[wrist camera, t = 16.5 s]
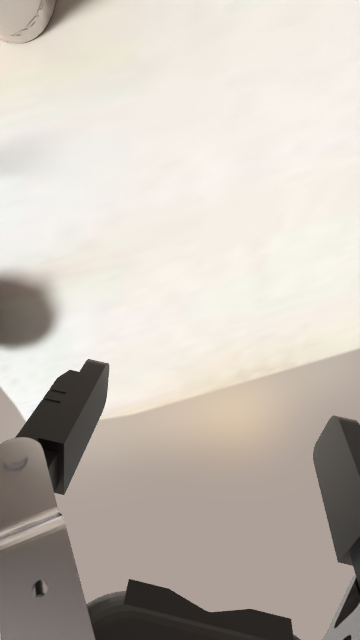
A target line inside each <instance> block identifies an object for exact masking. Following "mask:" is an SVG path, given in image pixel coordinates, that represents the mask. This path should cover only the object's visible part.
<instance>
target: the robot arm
mask: <svg viewBox="0 0 360 640" xmlns="http://www.w3.org/2000/svg"><path fill="white" fill-rule="evenodd" d="M55 2H56V0H0V40H2V41H5V42H7V43H14V44H19V43H26V42H28V41H30V40H32V39H34V38H36V37H37V36H38V35H39V34H40V33H42V31H43V30H44V29H45V27H46V26H47V24H48V23H49V21H50V18H51V16H52V14H53V10H54V6H55ZM108 377H109V364H108V363H104V362H99V361H95V360H91V359H88V360H87V361H86V362H85V364H84V365H83V367H82V369H81V370H80V372H77V371H73V370H69V371H67V372H66V373H64V374H63V375H61V376H60V377H58V378H57V379H56V381H55V382H54V384H53V385H52V386H51V388H50V390H49V391H48V392H47V394H46V395H45V396H44V398H43V400H42V401H41V402H40V404H39V405H38V406H37V408H36V409H35V411H34V412H33V413H32V415H31V416H30V418H29V419H28V421H27V422H26V423H25V425H24V426H23V428H22V430H21V431H20V432H19V433H18V435H17V436H16V437H15V438H13V439H10V440H7V441H5V442H3V443H1V444H0V634H1V640H300V639H299V638H298V637H296V636H294V635H293V631H292V624H291V619H289V618H285V617H281V616H277V615H273V614H269V613H265V612H261V611H257V610H253V609H245V610H234V611H223V612H207V611H205V610H203V609H202V608H200V607H198V606H197V605H195V604H193V603H191V602H190V601H188V600H186V599H185V598H183V597H181V596H180V595H178V594H176V593H175V592H173V591H171V590H170V589H167V588H163V587H159V586H155V585H151V584H147V583H143V582H139V581H135V580H131V579H129V582H128V586H127V590H126V591H122V592H115V593H111V594H107V595H104V596H102V597H99V598H97V599H95V600H93V601H91V602H90V603H88V604H86V602H85V598H84V594H83V590H82V587H81V582H80V578H79V575H78V571H77V567H76V564H75V559H74V556H73V552H72V548H71V544H70V540H69V536H68V532H67V528H66V525H65V521H64V518H63V516H62V514H60V513H59V510H58V507H57V503H56V499H55V495H54V493H58V494H62V495H64V494H65V492H66V490H67V488H68V486H69V483H70V481H71V479H72V477H73V475H74V473H75V470H76V468H77V466H78V464H79V461H80V459H81V457H82V455H83V453H84V451H85V449H86V446H87V444H88V442H89V440H90V438H91V435H92V433H93V431H94V429H95V427H96V425H97V423H98V420H99V418H100V416H101V414H102V412H103V409H104V406H105V402H106V398H107V388H108ZM313 460H314V465H315V469H316V473H317V478H318V482H319V486H320V490H321V494H322V498H323V502H324V506H325V510H326V515H327V519H328V522H329V527H330V531H331V535H332V539H333V543H334V548H335V551H336V555H337V560H338V562H340V563H344V564H348V565H352V566H353V567H354V570H355V574H356V575H355V576H354V577H353V578H352V580H351V581H350V584H349V586H348V588H347V590H346V592H345V594H344V597H343V599H342V601H341V603H340V605H339V607H338V610H337V612H336V614H335V616H334V618H333V620H332V622H331V624H330V627H329V629H328V631H327V633H326V634H325V636H324V638H323V639H322V640H360V425H359V423H358V422H357V421H356V420H352V419H347V418H343V417H338V416H332V417H331V418H330V420H329V421H328V423H327V425H326V427H325V428H324V430H323V432H322V433H321V436H320V437H319V439H318V441H317V442H316V444H315V447H314V452H313Z"/></svg>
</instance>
